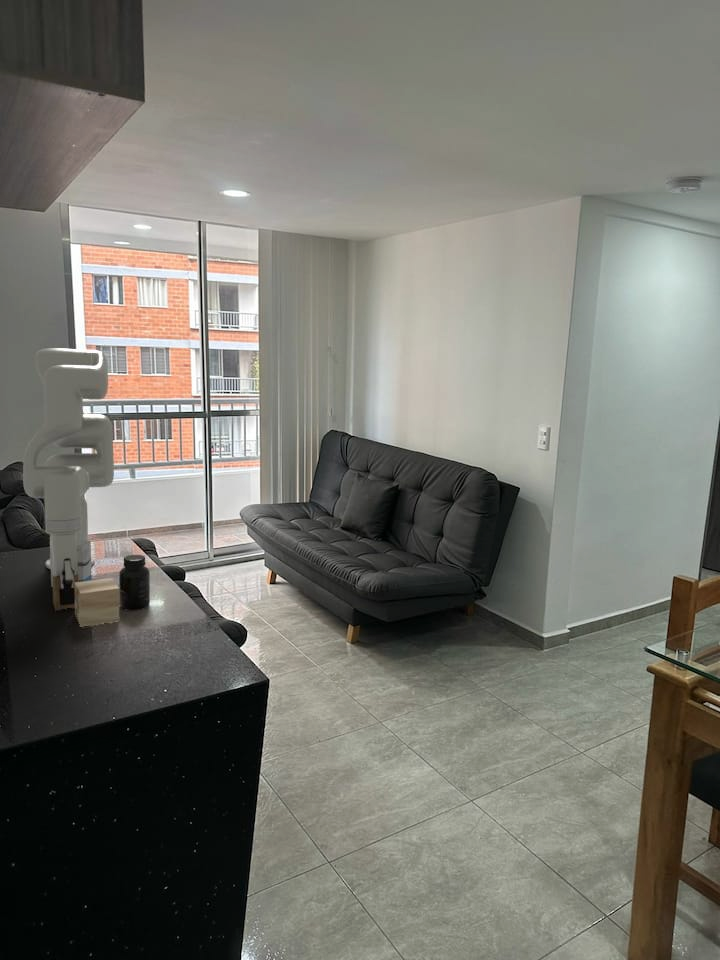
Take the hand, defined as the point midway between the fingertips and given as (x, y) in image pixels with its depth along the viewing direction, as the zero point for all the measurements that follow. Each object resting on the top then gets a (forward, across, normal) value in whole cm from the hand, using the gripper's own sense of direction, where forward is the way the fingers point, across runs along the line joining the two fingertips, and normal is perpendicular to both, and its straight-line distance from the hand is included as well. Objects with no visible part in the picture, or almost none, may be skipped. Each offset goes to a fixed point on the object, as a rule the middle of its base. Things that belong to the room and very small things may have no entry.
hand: (65, 599), depth 153 cm
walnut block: (+2, 0, 0) cm, 2 cm away
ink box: (+2, -14, +3) cm, 14 cm away
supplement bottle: (+2, +6, +14) cm, 16 cm away
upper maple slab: (-2, +11, +5) cm, 13 cm away
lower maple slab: (+2, +11, +5) cm, 12 cm away
